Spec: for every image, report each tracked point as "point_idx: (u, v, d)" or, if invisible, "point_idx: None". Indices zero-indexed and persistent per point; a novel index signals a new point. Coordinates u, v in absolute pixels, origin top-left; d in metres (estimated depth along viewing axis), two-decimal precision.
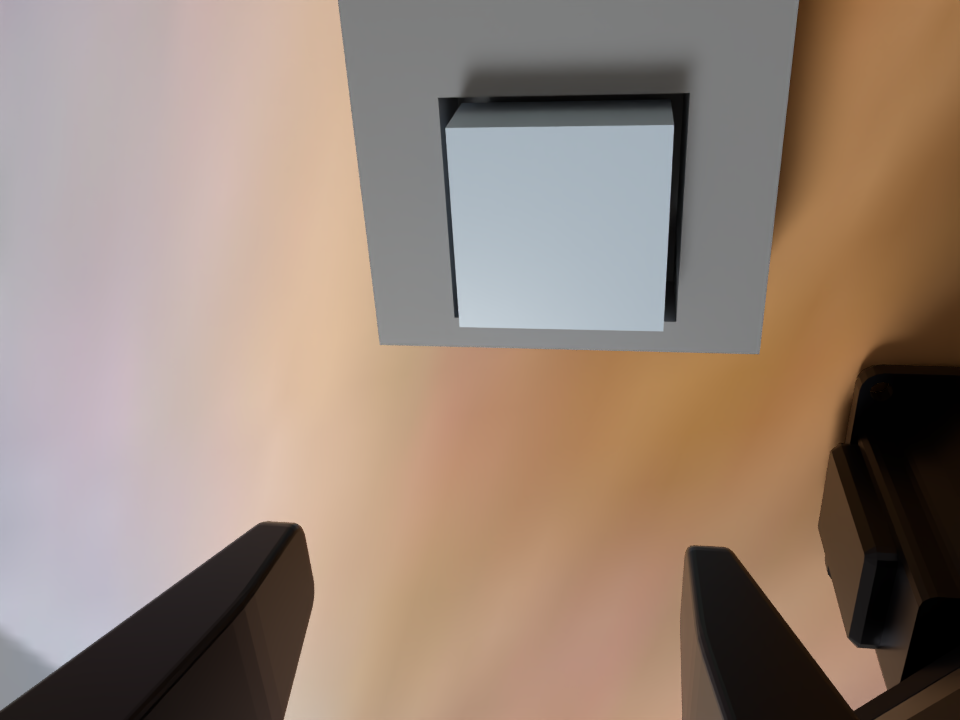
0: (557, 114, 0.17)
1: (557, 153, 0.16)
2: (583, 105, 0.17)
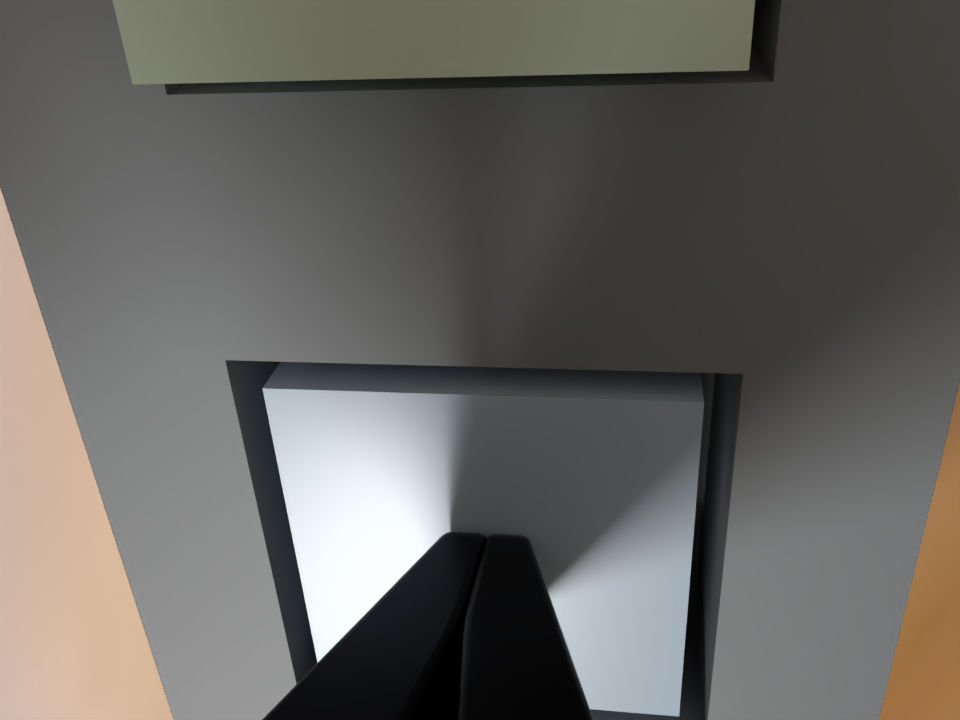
0: None
1: (477, 439, 0.08)
2: None
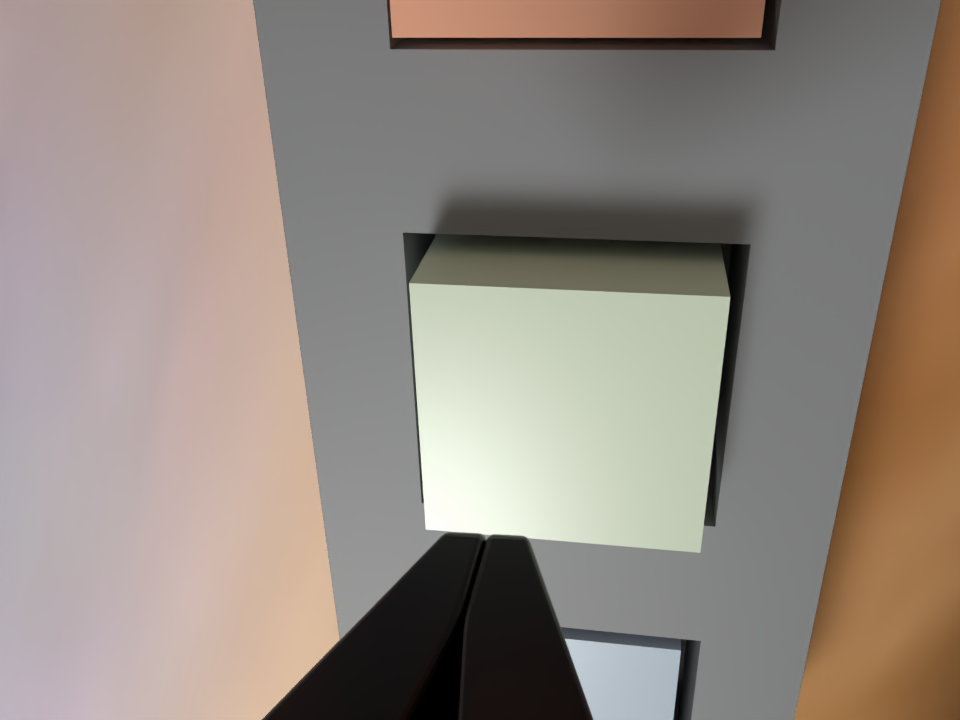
0: None
1: None
2: None
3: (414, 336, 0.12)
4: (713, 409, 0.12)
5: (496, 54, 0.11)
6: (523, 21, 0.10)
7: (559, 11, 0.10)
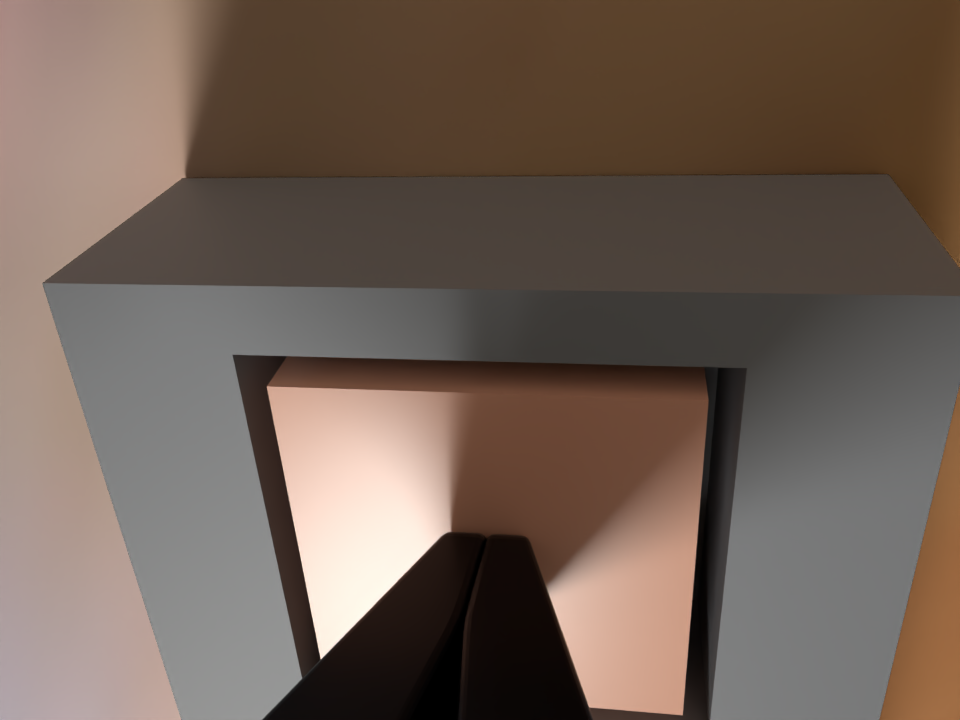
0: None
1: None
2: None
3: None
4: None
5: None
6: None
7: None
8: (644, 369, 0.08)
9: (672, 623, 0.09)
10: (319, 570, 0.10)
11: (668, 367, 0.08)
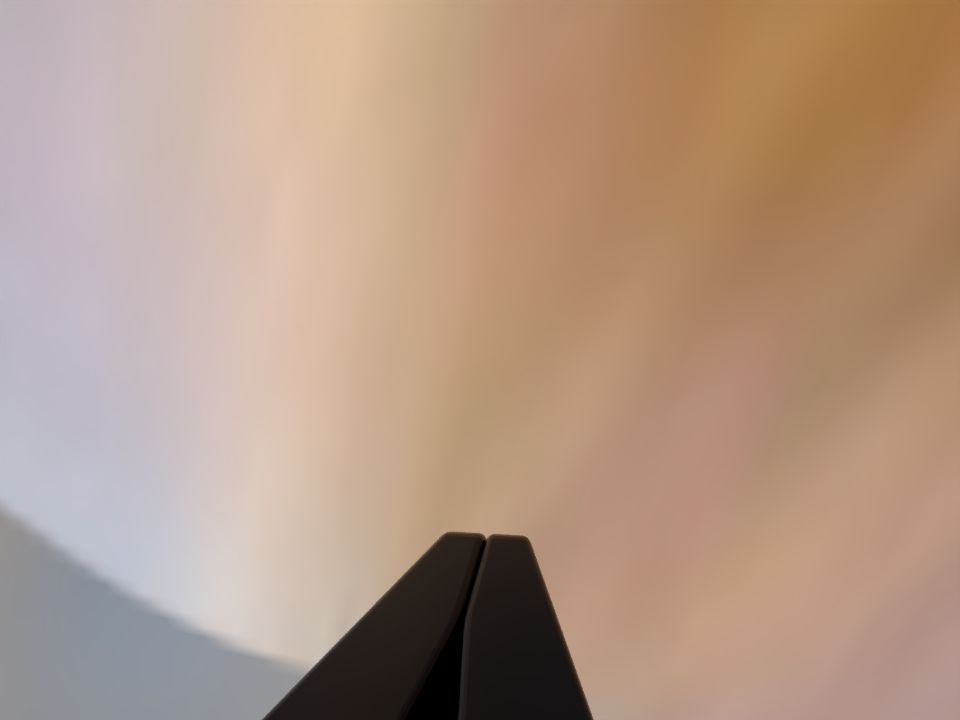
0: None
1: None
2: None
3: None
4: None
5: None
6: None
7: None
8: None
9: None
10: None
11: None
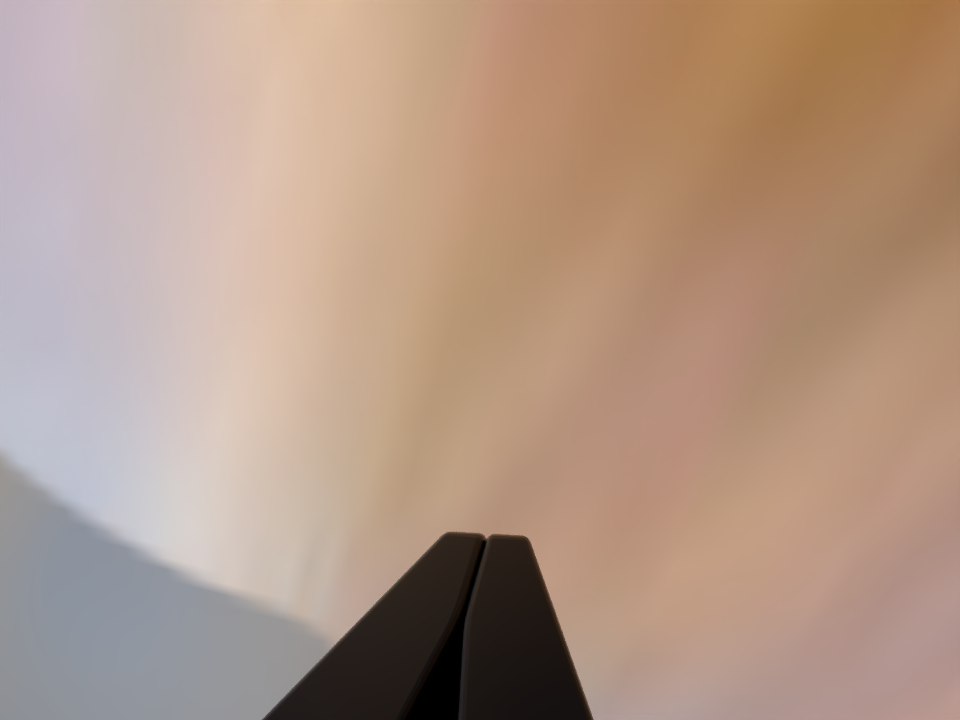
0: None
1: None
2: None
3: None
4: None
5: None
6: None
7: None
8: None
9: None
10: None
11: None
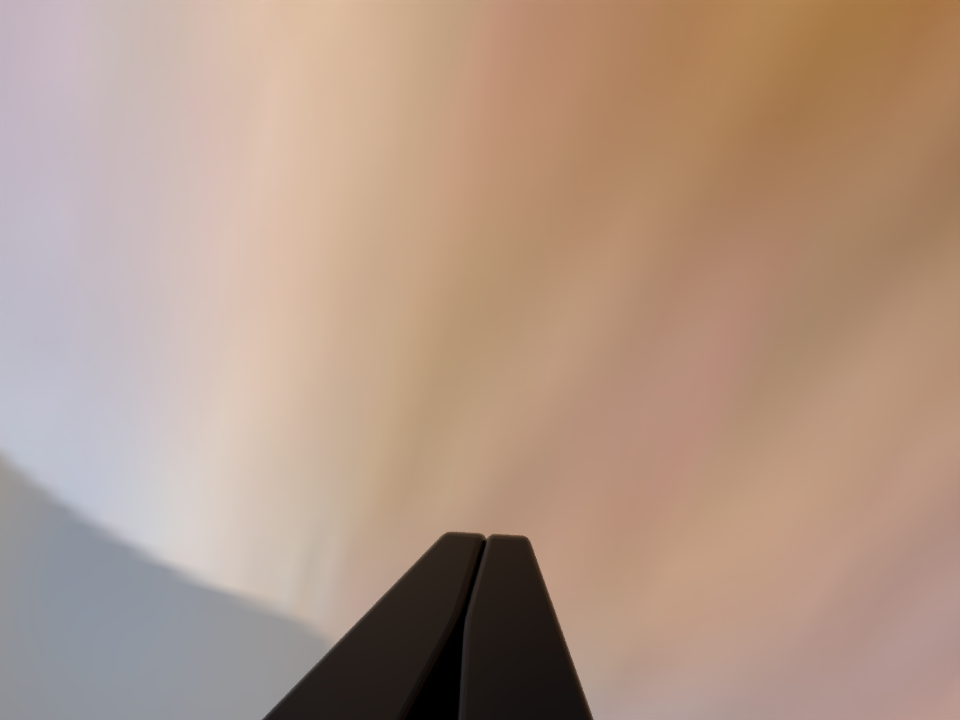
0: None
1: None
2: None
3: None
4: None
5: None
6: None
7: None
8: None
9: None
10: None
11: None
